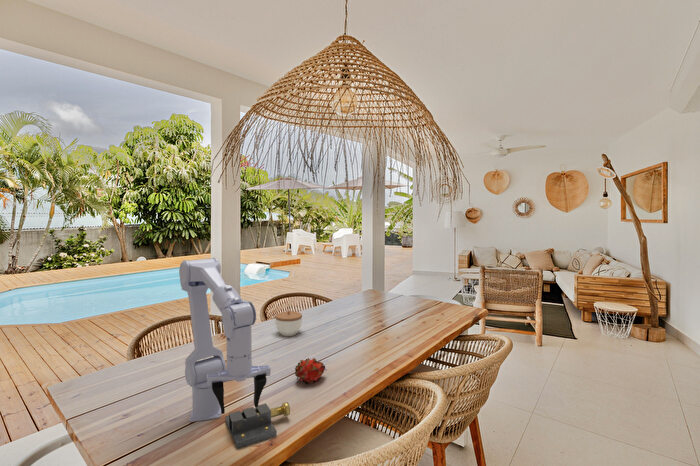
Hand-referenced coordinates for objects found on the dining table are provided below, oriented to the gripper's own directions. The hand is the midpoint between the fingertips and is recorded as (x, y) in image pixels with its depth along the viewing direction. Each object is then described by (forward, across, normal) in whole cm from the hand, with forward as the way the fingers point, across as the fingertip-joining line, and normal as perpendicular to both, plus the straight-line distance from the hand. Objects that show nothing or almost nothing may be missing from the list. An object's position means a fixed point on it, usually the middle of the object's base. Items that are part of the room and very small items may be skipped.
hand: (239, 408), depth 85 cm
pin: (+9, +8, +8) cm, 14 cm away
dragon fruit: (+10, +26, +28) cm, 39 cm away
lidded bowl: (+10, +30, +78) cm, 84 cm away
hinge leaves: (+10, +3, +7) cm, 13 cm away
